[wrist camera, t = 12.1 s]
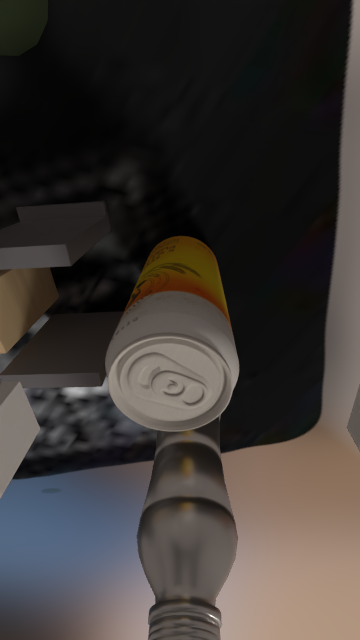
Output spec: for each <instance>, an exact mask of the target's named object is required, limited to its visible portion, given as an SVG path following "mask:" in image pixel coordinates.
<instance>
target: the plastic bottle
mask: <svg viewBox="0 0 360 640" xmlns="http://www.w3.org/2000/svg"><path fill="white" fill-rule="evenodd" d="M220 417H221V414H220V415H219V416H218V417H217V418H215V419H214V420H212V421H211V422H209V423H207V424H205V425H203V426H201V427H198V428H195V429H191V430H186V431H161V430H157V442H156V453H155V460H154V465H153V470H152V476H151V481H150V484H149V489H148V492H147V496H146V499H145V503H144V507H143V510H142V515H141V518H140V522H139V527H138V532H137V544H138V553H139V558H140V561H141V564H142V567H143V569H144V572H145V575H146V577H147V580H148V582H149V584H150V586H151V588H152V591H153V592H154V595H155V602H156V603H155V605H153V606H152V607H151V608H150V610H149V618H148V624H149V625H150V626H149V637H148V640H220V628H221V624H222V623H221V612H220V610H219V609H218V608H216V607H215V601H216V597H217V596H218V594H219V592H220V590H221V588H222V586H223V584H224V583H225V581H226V579H227V577H228V575H229V572H230V570H231V568H232V565H233V563H234V560H235V556H236V549H237V541H238V536H237V530H236V524H235V520H234V516H233V513H232V509H231V505H230V501H229V497H228V493H227V489H226V485H225V481H224V474H223V467H222V462H221V454H220V448H219V421H220Z"/></svg>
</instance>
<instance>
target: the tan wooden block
mask: <svg viewBox="0 0 360 640" xmlns="http://www.w3.org/2000/svg"><path fill="white" fill-rule="evenodd" d="M58 298H59V295H58V292H57V289H56V286H55V283H54V279H53V276H52V273H51V270H50V267H44V268H25V269H6V270H0V353H7V352H8V351H9V350H10V349H11V348H12V346H13V345H14V344H15V343H16V342H17V341H18V340H19V339H20V338H21V337H22V336H23V335H24V334H25V333H26V332H27V331H28V330H29V329H30V328H31V326H32V325H33V324H34V323H35V322H36V321H37V320H38V319H39V318H40V317H41V316H42V315H43V314H44V313H45V312H46V311H47V310H48V309H49V307H50V306H51V305H52V304H53V303H54V302H55V301H56V300H57V299H58Z"/></svg>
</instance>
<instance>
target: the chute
mask: <svg viewBox="0 0 360 640" xmlns="http://www.w3.org/2000/svg"><path fill="white" fill-rule="evenodd" d="M16 210H17V213H18V216H19V219H20V222H18V223H15V224H13V225H10V226H7V227H5V228H2V229H0V270H6V269H25V268H44V267H63V266H72V265H73V264H74V263H75V262H76V261H77V260H78V259H79V258H81V257H82V256H83V255H84V254H85V253H86V252H87V251H88V250H89V249H91V248H92V247H93V246H94V245H95V244H96V243H97V242H98V241H99V240H101V239H102V238H103V237H104V236H105V235H106V234H107V233H108V232H109V231H110V230H111V227H110V222H109V216H108V210H107V205H106V201H94V202H79V203H64V204H49V205H34V206H20V207H16ZM123 313H124V311H121V312H96V313H72V314H53V315H52V316H51V318H50V319H49V320H48V321H47V322H46V323H45V324H44V325H43V327H42V328H41V329H40V330H39V331H38V332H37V333H36V335H35V336H34V337H33V338H32V339H31V340H30V341H29V342H28V344H27V345H26V346H25V347H24V348H23V349H22V350H21V351H20V353H19V354H18V355H17V356H16V357H15V358H14V359H13V361H12V362H11V363H10V364H9V365H8V366H7V367H6V368H5V370H4V371H3V372H2V373H1V374H0V378H1V380H2V382H3V381H20V383H21V385H22V388H54V387H96V386H102V385H103V382H104V380H105V377H106V375H107V374H106V368H105V358H106V353H107V350H108V347H109V344H110V342H111V340H112V338H113V335H114V333H115V331H116V329H117V326H118V324H119V322H120V320H121V317H122V315H123Z"/></svg>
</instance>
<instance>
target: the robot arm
mask: <svg viewBox="0 0 360 640" xmlns="http://www.w3.org/2000/svg"><path fill="white" fill-rule="evenodd" d="M347 429H348V431H349V433H350V434H351V436H352V438H353V440H354V442H355V444H356V445H357V447H358V449H359V451H360V385H359V389H358V392H357V395H356V399H355V402H354V405H353V409H352V412H351V416H350V419H349V423H348V425H347ZM39 430H40V427H39V425H38V423H37V420H36V418H35V416H34V413H33V411H32V409H31V406H30V404H29V402H28V399H27V397H26V395H25V392H24V390H23V388H22V385H21V383H20V381H3V382H1V383H0V498H1V496H2V495H3V493H4V491H5V489H6V488H7V486H8V484H9V482H10V481H11V479H12V477H13V476H14V474H15V472H16V470H17V469H18V467H19V465H20V463H21V462H22V460H23V458H24V456H25V455H26V453H27V451H28V449H29V448H30V446H31V444H32V442H33V441H34V439H35V437H36V435H37V434H38V432H39Z"/></svg>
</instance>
